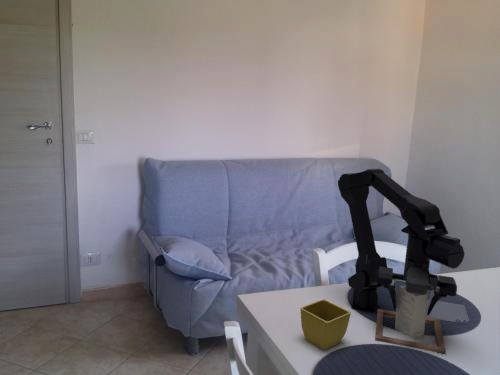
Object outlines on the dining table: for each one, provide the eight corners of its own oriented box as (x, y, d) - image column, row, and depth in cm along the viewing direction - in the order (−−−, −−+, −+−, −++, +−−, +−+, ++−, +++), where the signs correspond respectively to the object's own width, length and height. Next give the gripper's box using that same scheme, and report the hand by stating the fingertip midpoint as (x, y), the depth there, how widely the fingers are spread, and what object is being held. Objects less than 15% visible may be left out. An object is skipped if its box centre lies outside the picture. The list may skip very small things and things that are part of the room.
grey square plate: (422, 318, 122) (422, 316, 122) (420, 299, 133) (420, 298, 133) (470, 326, 119) (470, 324, 119) (464, 307, 130) (464, 305, 130)
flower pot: (321, 330, 114) (323, 298, 112) (348, 346, 107) (351, 311, 105) (297, 341, 108) (299, 307, 106) (324, 358, 102) (327, 322, 100)
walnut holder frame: (374, 343, 109) (375, 337, 109) (377, 313, 124) (377, 308, 124) (445, 357, 104) (445, 351, 104) (439, 324, 119) (439, 319, 119)
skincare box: (424, 337, 112) (430, 293, 110) (411, 341, 110) (417, 296, 108) (405, 326, 118) (410, 283, 115) (392, 329, 116) (398, 286, 113)
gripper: (377, 259, 105) (371, 319, 108) (464, 271, 99) (454, 335, 103) (379, 244, 115) (373, 300, 118) (457, 255, 110) (449, 313, 113)
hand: (410, 311), depth 113 cm, fingers open, 8 cm apart
